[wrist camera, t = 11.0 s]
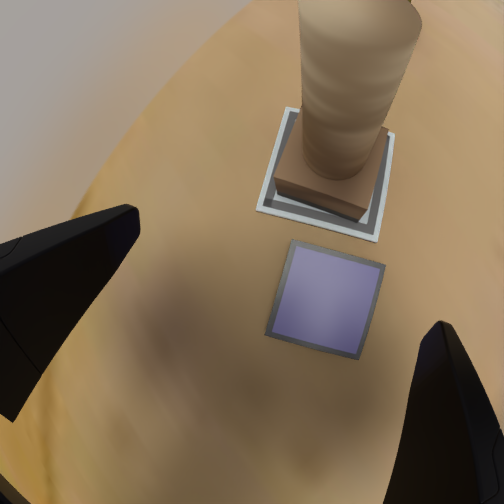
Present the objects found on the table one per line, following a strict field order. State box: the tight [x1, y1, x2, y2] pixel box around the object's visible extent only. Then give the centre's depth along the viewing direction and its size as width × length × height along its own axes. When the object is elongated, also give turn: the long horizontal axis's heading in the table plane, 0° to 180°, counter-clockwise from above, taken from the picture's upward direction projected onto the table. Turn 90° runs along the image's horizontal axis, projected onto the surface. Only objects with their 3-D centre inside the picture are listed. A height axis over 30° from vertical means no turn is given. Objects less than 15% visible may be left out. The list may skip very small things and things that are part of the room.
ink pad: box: [265, 239, 386, 360], centre depth 17 cm, size 6×6×2 cm
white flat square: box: [256, 107, 395, 243], centre depth 18 cm, size 8×8×1 cm
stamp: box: [273, 0, 422, 223], centre depth 12 cm, size 5×5×12 cm
